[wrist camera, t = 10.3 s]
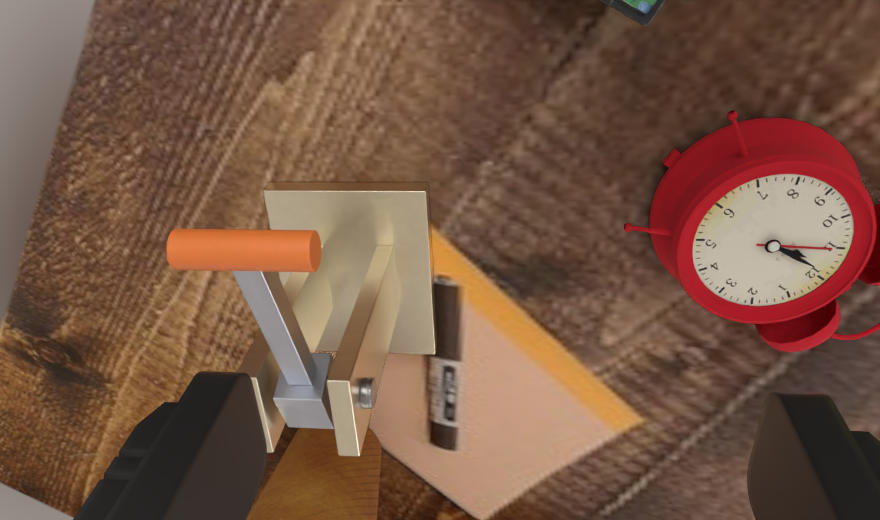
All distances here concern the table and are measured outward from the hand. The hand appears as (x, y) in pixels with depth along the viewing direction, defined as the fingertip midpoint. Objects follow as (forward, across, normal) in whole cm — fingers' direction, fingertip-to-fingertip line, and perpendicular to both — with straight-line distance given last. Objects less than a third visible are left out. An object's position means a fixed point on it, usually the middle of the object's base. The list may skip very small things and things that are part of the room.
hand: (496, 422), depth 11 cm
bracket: (+26, +9, +13) cm, 31 cm away
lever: (+15, +9, +8) cm, 19 cm away
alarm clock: (+26, -14, +10) cm, 31 cm away
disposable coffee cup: (+26, +12, +28) cm, 40 cm away
